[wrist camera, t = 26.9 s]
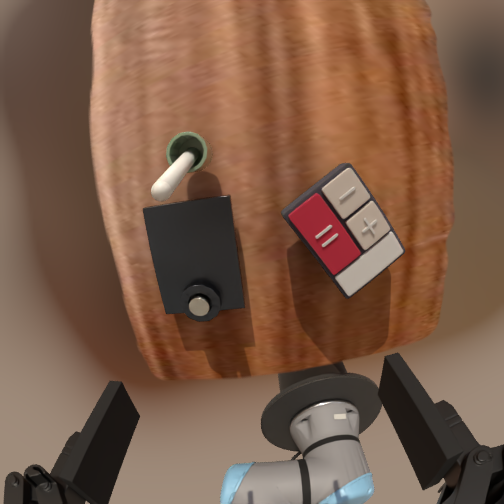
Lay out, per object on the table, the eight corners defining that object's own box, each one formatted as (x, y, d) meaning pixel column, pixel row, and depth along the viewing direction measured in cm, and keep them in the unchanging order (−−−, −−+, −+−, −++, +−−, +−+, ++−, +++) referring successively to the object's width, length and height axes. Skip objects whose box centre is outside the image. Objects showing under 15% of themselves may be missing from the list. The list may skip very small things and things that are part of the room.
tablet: (245, 309, 41) (245, 318, 39) (169, 315, 41) (164, 323, 39) (230, 194, 36) (228, 196, 34) (145, 207, 36) (138, 210, 34)
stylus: (201, 157, 34) (171, 203, 22) (188, 159, 34) (151, 206, 22) (199, 144, 33) (165, 182, 21) (185, 146, 34) (145, 186, 21)
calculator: (351, 161, 31) (409, 253, 34) (341, 162, 35) (395, 245, 38) (281, 216, 33) (348, 302, 36) (278, 211, 37) (340, 290, 40)
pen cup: (215, 169, 35) (209, 169, 30) (179, 174, 35) (168, 176, 31) (210, 133, 34) (205, 128, 29) (174, 140, 34) (163, 136, 29)
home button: (211, 310, 39) (210, 315, 37) (192, 312, 39) (191, 316, 38) (208, 293, 38) (207, 297, 37) (188, 294, 38) (187, 299, 37)
